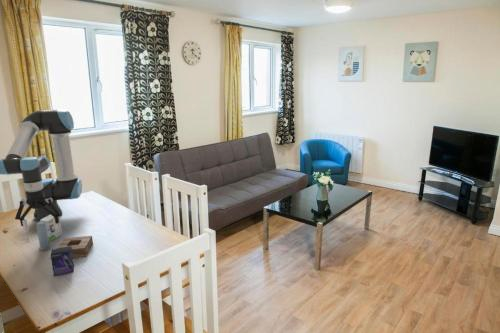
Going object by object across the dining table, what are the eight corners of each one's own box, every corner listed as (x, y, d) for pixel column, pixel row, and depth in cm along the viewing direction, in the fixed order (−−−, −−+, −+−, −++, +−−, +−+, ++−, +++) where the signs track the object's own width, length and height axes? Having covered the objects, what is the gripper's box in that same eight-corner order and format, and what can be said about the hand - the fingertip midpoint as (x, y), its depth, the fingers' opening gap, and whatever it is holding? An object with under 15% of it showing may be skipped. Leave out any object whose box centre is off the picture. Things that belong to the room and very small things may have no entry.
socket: (66, 246, 175) (64, 237, 173) (93, 244, 177) (91, 235, 175) (56, 260, 162) (55, 250, 161) (86, 257, 164) (84, 247, 163)
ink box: (54, 233, 189) (51, 213, 186) (62, 234, 188) (59, 214, 185) (42, 240, 181) (38, 220, 178) (51, 241, 180) (47, 220, 177)
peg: (42, 247, 174) (37, 222, 170) (51, 246, 175) (46, 221, 171) (39, 251, 170) (34, 225, 167) (48, 250, 171) (43, 224, 167)
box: (53, 276, 149) (49, 254, 146) (54, 270, 154) (51, 248, 151) (74, 272, 152) (70, 250, 149) (74, 266, 157) (71, 244, 154)
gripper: (1, 194, 158) (10, 236, 164) (59, 190, 163) (66, 231, 168) (9, 189, 166) (17, 229, 171) (65, 185, 170) (71, 225, 175)
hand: (41, 230), depth 169 cm, fingers open, 13 cm apart
